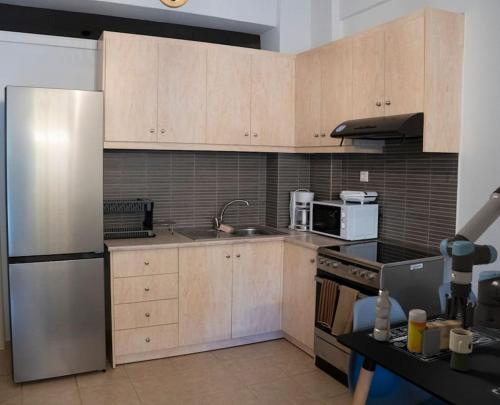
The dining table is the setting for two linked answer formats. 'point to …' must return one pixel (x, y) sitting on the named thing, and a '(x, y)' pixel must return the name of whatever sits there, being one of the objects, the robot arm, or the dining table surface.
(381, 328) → the plastic bottle
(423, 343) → the chute
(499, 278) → the robot arm
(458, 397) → the dining table surface
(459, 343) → the character mug
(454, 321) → the tan wooden block
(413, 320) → the beer can
